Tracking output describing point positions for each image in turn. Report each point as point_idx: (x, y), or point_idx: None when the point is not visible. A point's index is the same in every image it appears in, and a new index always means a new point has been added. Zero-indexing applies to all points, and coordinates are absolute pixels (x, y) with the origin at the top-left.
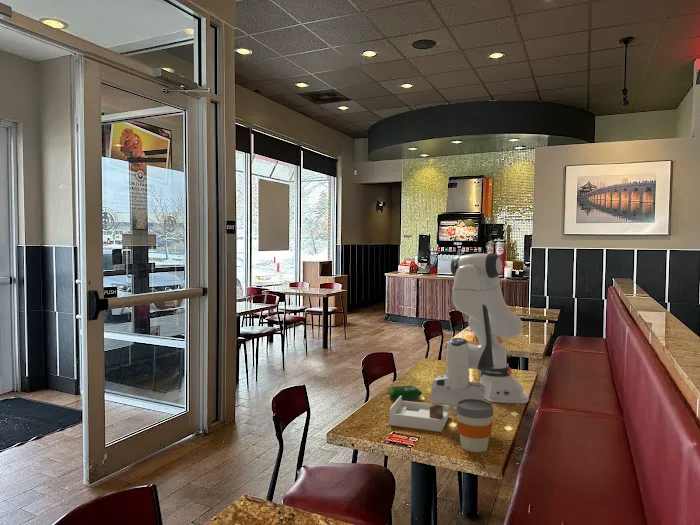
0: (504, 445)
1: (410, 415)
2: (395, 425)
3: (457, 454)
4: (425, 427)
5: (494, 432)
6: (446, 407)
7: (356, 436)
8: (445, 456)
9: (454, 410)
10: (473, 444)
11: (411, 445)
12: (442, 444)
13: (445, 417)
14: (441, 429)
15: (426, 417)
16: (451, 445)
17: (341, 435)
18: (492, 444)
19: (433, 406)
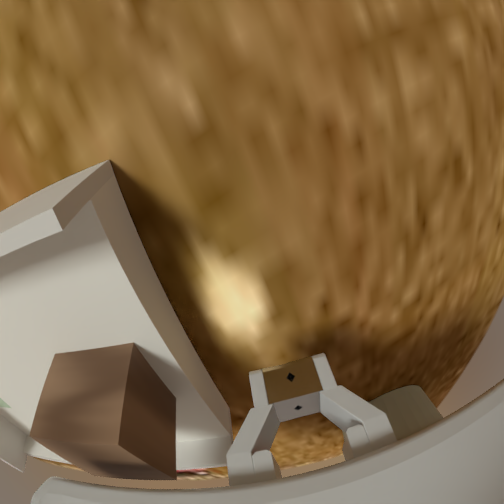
0: (473, 347)
1: (23, 403)
2: None
3: (337, 449)
4: None
5: (479, 266)
6: (48, 229)
7: (70, 464)
8: (310, 462)
9: (272, 418)
10: None
11: (203, 471)
12: (281, 447)
13: (178, 363)
14: (230, 418)
15: None
16: (311, 439)
17: (50, 462)
18: (442, 366)
19: (110, 474)
